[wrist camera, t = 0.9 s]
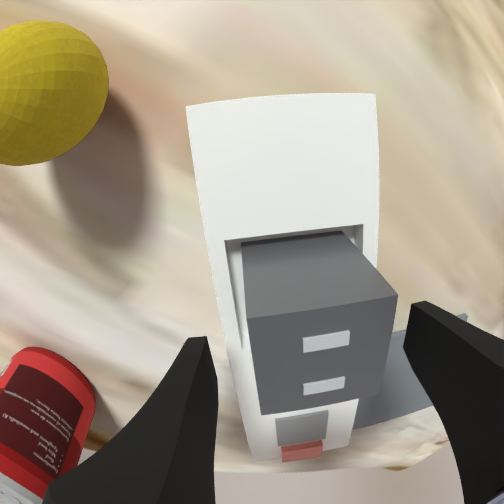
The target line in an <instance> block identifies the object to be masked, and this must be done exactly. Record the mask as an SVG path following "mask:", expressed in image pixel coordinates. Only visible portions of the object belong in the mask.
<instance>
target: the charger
mask: <svg viewBox="0 0 504 504" xmlns="http://www.w3.org/2000/svg"><path fill="white" fill-rule="evenodd" d="M241 253H242V267H243V280H244V294H245V307H246V320H247V326H248V333H249V340H250V346H251V353H252V360H253V366H254V373H255V379H256V386H257V392H258V399H259V405H260V411H261V415H269V414H277V413H284V412H291V411H297V410H304V409H309V408H315V407H321V406H326V405H331V404H336V403H341V402H345V401H350V400H354V399H359V398H363V397H367V396H371V395H375V394H379V390H380V386H381V382H382V378H383V374H384V369H385V365H386V360H387V356H388V351H389V346H390V341H391V335H392V330H393V324H394V318H395V312H396V305H397V299H398V294H397V293H396V292H395V290H394V289H393V288H392V287H391V286H390V284H389V283H388V282H387V281H386V280H385V279H384V277H383V276H382V275H381V274H380V273H379V272H378V271H377V269H376V268H375V267H374V266H373V265H372V264H371V263H370V261H369V260H368V259H367V258H366V257H365V256H364V255H363V253H362V252H361V251H360V250H359V249H358V248H357V247H356V246H355V245H354V244H353V242H352V241H351V240H350V239H349V238H348V237H347V236H346V235H345V234H344V233H343V232H342V230H340V231H331V232H323V233H314V234H306V235H297V236H289V237H281V238H272V239H264V240H256V241H248V242H241Z"/></svg>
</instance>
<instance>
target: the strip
mask: <svg viewBox="0 0 504 504" xmlns="http://www.w3.org/2000/svg"><path fill="white" fill-rule="evenodd" d="M186 114H187V121H188V129H189V136H190V144H191V151H192V158H193V164H194V171H195V178H196V184H197V191H198V197H199V203H200V210H201V216H202V222H203V228H204V234H205V239H206V245H207V251H208V256H209V262H210V267H211V273H212V278H213V284H214V289H215V294H216V299H217V305H218V310H219V315H220V320H221V325H222V330H223V334H224V339H225V344H226V349H227V354H228V358H229V363H230V368H231V372H232V377H233V381H234V386H235V390H236V394H237V399H238V403H239V407H240V412H241V416H242V420H243V424H244V429H245V433H246V437H247V441H248V445H249V449H250V453H251V457H252V461H261V460H270V459H278V458H282V462H289V461H295V460H302V459H307V458H313V457H318V456H322V451H326V450H331V449H336V448H340V447H345V446H348V445H349V441H350V436H351V432H352V428H353V424H354V419H355V415H356V410H357V405H358V400H359V399H354V400H350V401H345V402H341V403H336V404H331V405H326V406H321V407H315V408H309V409H304V410H297V411H291V412H284V413H277V414H269V415H261V411H260V405H259V399H258V392H257V386H256V379H255V373H254V366H253V360H252V353H251V346H250V340H249V333H248V326H247V320H246V307H245V294H244V280H243V267H242V253H241V242H248V241H256V240H264V239H272V238H281V237H289V236H297V235H306V234H314V233H323V232H331V231H340V230H342V232H343V233H344V234H345V235H346V236H347V237H348V238H349V239H350V240H351V241H352V242H353V244H354V245H355V246H356V247H357V248H358V249H359V250H360V251H361V252H362V253H363V255H364V256H365V257H366V258H367V259H368V260H369V261H370V263H371V264H372V265H373V266H374V267H375V268H376V266H377V250H378V229H379V149H378V128H377V112H376V100H375V94H365V93H312V94H289V95H274V96H261V97H250V98H241V99H232V100H224V101H216V102H209V103H203V104H196V105H190V106H186Z"/></svg>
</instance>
